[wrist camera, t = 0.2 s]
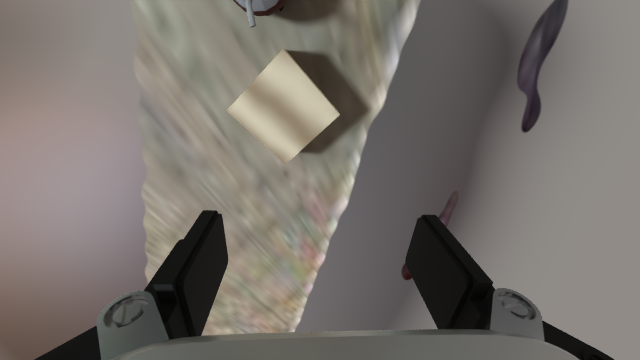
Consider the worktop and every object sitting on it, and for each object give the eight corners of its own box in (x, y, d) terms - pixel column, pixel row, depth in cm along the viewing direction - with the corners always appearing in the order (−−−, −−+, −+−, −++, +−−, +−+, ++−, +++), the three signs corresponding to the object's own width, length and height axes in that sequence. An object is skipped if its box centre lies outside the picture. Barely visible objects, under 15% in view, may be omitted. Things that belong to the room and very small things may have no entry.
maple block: (286, 50, 35) (283, 48, 29) (335, 107, 39) (340, 114, 34) (237, 103, 38) (226, 110, 32) (287, 151, 42) (285, 164, 36)
